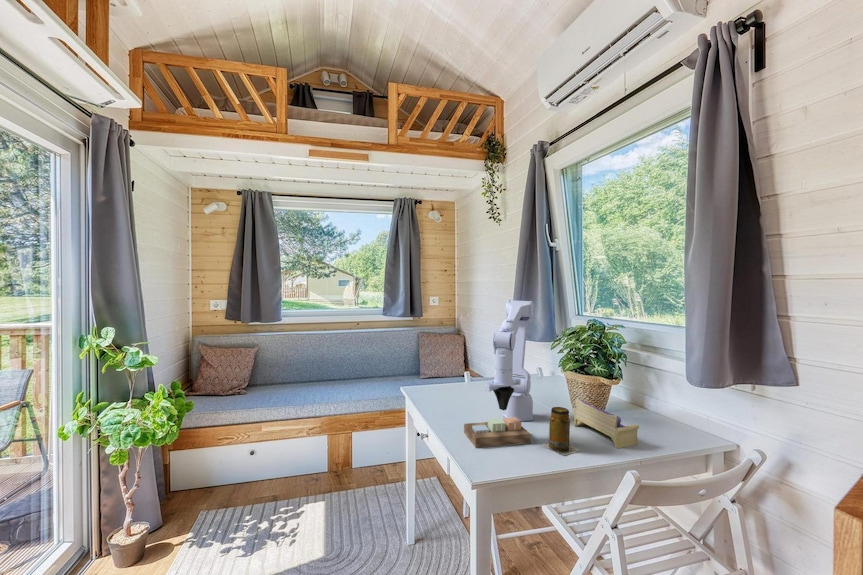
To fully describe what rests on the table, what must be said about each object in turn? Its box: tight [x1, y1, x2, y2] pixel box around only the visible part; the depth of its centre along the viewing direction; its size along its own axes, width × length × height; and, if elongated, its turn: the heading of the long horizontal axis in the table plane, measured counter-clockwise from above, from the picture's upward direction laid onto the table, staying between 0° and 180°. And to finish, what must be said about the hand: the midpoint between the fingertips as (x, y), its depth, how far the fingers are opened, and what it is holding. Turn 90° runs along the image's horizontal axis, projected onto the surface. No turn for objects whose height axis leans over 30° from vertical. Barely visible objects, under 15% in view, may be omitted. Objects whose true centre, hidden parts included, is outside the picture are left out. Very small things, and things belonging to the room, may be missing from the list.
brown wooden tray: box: [463, 421, 532, 449], centre depth 131 cm, size 18×12×3 cm, turn 102°
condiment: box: [543, 406, 581, 456], centre depth 124 cm, size 7×8×12 cm
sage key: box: [487, 417, 506, 432], centre depth 131 cm, size 4×4×3 cm
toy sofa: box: [572, 398, 640, 449], centre depth 135 cm, size 21×9×10 cm, turn 21°
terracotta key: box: [502, 417, 522, 431], centre depth 132 cm, size 4×4×3 cm
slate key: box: [472, 425, 489, 433], centre depth 130 cm, size 4×4×3 cm
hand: (502, 409), depth 131 cm, fingers closed
